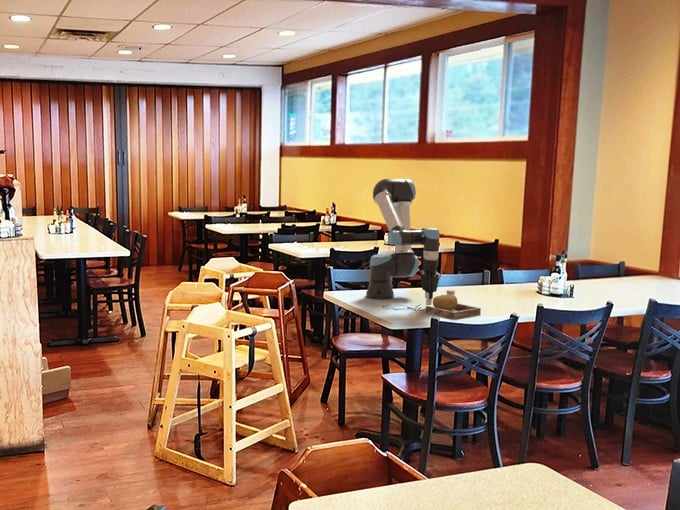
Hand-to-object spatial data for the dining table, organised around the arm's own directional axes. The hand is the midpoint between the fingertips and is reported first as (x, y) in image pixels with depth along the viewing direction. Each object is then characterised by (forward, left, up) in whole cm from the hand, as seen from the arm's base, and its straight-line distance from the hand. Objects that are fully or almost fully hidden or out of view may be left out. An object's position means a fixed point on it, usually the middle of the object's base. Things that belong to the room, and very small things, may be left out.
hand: (428, 304), depth 358 cm
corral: (+16, 0, -1) cm, 16 cm away
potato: (+10, 0, -2) cm, 11 cm away
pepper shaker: (+4, +12, -1) cm, 13 cm away
